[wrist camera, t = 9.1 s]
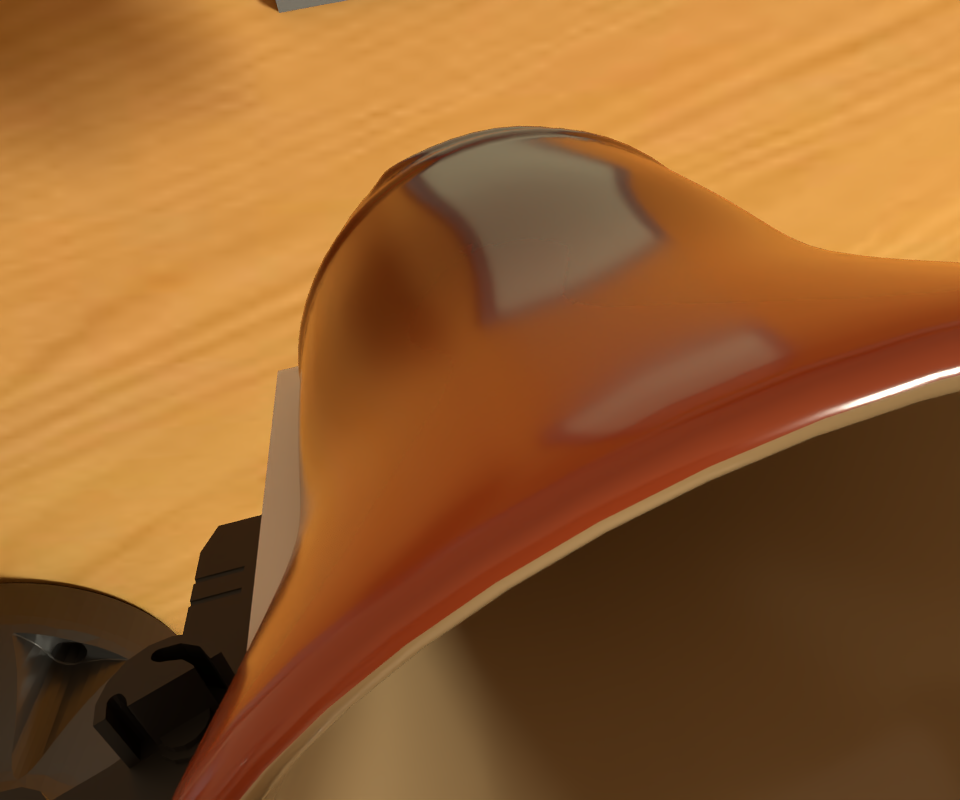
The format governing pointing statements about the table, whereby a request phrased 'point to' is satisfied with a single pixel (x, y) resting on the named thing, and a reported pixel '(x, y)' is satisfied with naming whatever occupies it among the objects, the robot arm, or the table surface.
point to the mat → (300, 4)
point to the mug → (607, 502)
